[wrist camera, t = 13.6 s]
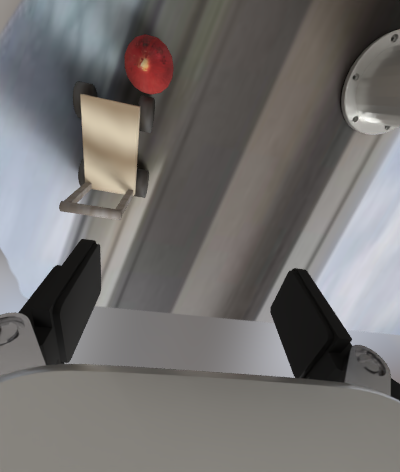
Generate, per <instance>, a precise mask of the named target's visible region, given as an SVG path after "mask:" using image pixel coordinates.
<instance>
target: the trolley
mask: <svg viewBox="0 0 400 472" xmlns="http://www.w3.org/2000/svg"><path fill="white" fill-rule="evenodd" d="M73 104H74V109H75V113H76V115H77V116H78V118H80V119H82V134H83V153H84V159H83V160H82V161H81V163H80V166H79V172H78V178H79V183H80V186H81V187H80V188H78V189H77V190H76V191H75V192H74V193H73V194H71V195H70V196H69V197H68V198H67V199H66V200H64V201H61V203H60V205H59V209H60V211H63V212H70V213H76V214H83V215H90V216H96V217H103V218H109V219H116V220H121V217H122V215H123V213H124V211H125V209H126V208H127V206H128V204H129V202H130V200H131V198H132V197H133V196H137V197H143V198H145V197H146V193H147V188H148V180H149V171H148V170H144V169H139V168H137V156H138V139H139V131H144V132H149V133H151V131H152V127H153V121H154V110H155V100H154V98H152V97H147V96H143V95H141V97H140V100H139V105H138V106H135V105H131V104H126V103H122V102H117V101H112V100H108V99H103V98H99V97H97V92H96V88H95V86H94V85H93V84H89V83H85V82H80V81H78V82H76V84H75V86H74V91H73ZM91 189H95V190H101V191H107V192H113V193H119V194H125V195H124V197H123V198H122V200H121V201H120V203H119V204H118V206H117V208H116V209H109V208H103V207H97V206H90V205H84V204H78V203H77V202H78V201H79V200H80V199H81V198H82V197H83V196H84V195H85V194H86V193H87V192H89V191H90V190H91Z"/></svg>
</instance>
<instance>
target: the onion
mask: <svg viewBox="0 0 400 472" xmlns="http://www.w3.org/2000/svg"><path fill="white" fill-rule="evenodd" d="M125 69H126V73H127V77H128V78H129V80H130V81H131V83H132V84H133V85H134V87H136V88H137V89H138V90H140V91H141V92H143V93H147V94H156V93H160V92H162V91H163V90H164V89H166V88H167V87H168V85H169V83H170V81H171V79H172V76H173V61H172V56H171V54H170V52H169V50H168V48H167V46H166V45H165V44H164V43H163V42H162V41H161V40H160V39H158V38H157V37H153V36H150V35H146V34H144V35H141V36H138V37H135V38H134V39H133V40H132V42H131V43H130V44H129V45H128V47H127V50H126V53H125Z"/></svg>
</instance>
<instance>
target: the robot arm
mask: <svg viewBox="0 0 400 472" xmlns="http://www.w3.org/2000/svg"><path fill="white" fill-rule="evenodd" d="M353 76H354V77H353ZM341 108H342V112H343V116H344V118H345V120H346V122H347V123H348V124H349V126H350V127H351V128H353V129H354V130H356V131H358V132H361V133H364V134H382V133H386V132H388V131H391V130H393V129H395V128H397V127H399V128H400V29H398V30H395V31H392V32H390V33H387V34H385V35H383V36H381V37H380V38H378V39H377V40H375V41H374V42H373V43H371V44H370V45H369V46H368V47H367V48H366V49H365V50H364V51H363V52H362V53H361V54H360V56H359V57H358V58H357V59H356V61H355V62H354V64H353V66H352V67H351V69H350V71H349V73H348V75H347V77H346V80H345V83H344V86H343V90H342V97H341ZM352 119H353V120H352ZM100 291H101V262H100V245H99V244H96V241H93V240H86V239H81V240H80V242H79V243H78V244H77V246H76V247H75V248H74V250H73V251H72V253H71V254H70V255H69V257H68V258H67V259H66V261H65V262H64V263H63V265H62V266H60V265H57V266H55V267H54V268H53V269H52V270H51V272H50V273H49V274H48V275H47V277H46V278H45V279H44V281H43V282H42V283H41V284H40V286H39V287H38V288H37V290H36V291H35V292H34V293H33V295H32V296H31V297H30V299H29V300H28V301H27V302H26V304H25V305H24V306H23V308H22V309H21V310H20V311H19V313H6V314H2V315H0V472H400V384H399V383H397V382H396V381H394V380H393V379H392V378H391V374H390V370H389V368H388V366H387V364H386V363H385V361H384V360H383V359H382V358H381V357H380V356H379V355H378V354H377V353H375V352H374V351H372V350H371V349H369V348H367V347H365V346H362V345H355V346H352V345H351V343H350V341H351V340H352V338H351V337H350V335H349V334H348V332H347V331H346V329H345V328H344V326H343V325H342V323H341V322H340V320H339V319H338V317H337V316H336V314H335V313H334V311H333V310H332V308H331V307H330V305H329V304H328V302H327V301H326V299H325V298H324V296H323V295H322V293H321V292H320V290H319V289H318V287H317V285H316V284H315V282H314V281H313V279H312V278H311V276H310V275H309V273H308V272H307V271H306V270H303V269H296V268H294V269H292V271H289V272H288V274H287V276H286V278H285V280H284V282H283V284H282V286H281V288H280V290H279V292H278V294H277V296H276V298H275V300H274V302H273V304H272V306H271V315H272V318H273V320H274V323H275V326H276V329H277V331H278V334H279V337H280V339H281V342H282V345H283V347H284V350H285V353H286V355H287V358H288V361H289V363H290V366H291V369H292V372H293V374H294V376H295V378H287V377H273V376H261V375H247V374H234V373H220V372H206V371H191V370H176V369H161V368H145V367H130V366H111V365H89V364H88V365H87V364H64V362H66V363H68V362H69V361H70V360H71V358H72V355H73V353H74V351H75V349H76V346H77V344H78V342H79V340H80V338H81V335H82V333H83V331H84V329H85V326H86V324H87V322H88V319H89V317H90V315H91V313H92V311H93V308H94V306H95V304H96V302H97V299H98V297H99V295H100Z"/></svg>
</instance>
